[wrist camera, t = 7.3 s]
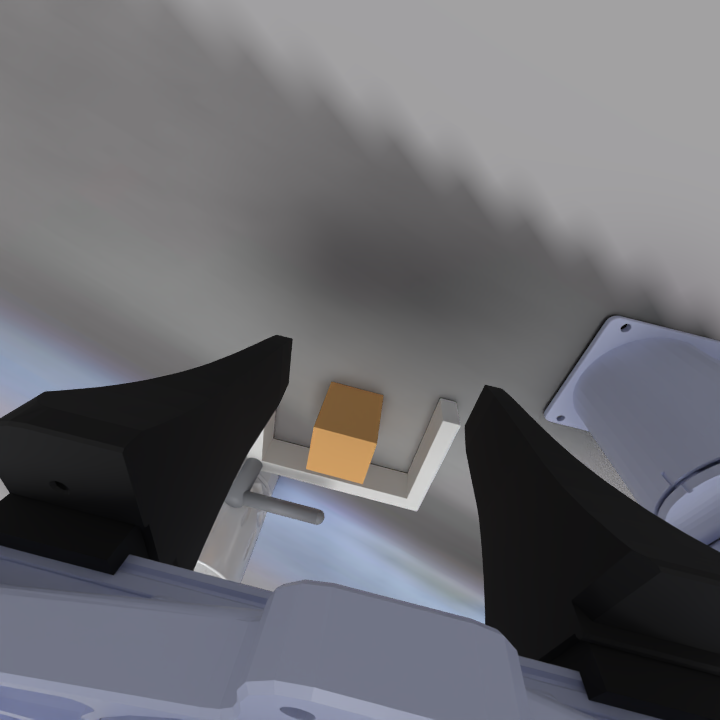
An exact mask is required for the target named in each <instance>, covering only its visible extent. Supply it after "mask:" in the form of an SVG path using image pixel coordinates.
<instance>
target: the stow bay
mask: <svg viewBox="0 0 720 720" xmlns="http://www.w3.org/2000/svg"><path fill="white" fill-rule="evenodd" d="M275 414H276V410H275V412H274V413H273V415H272V417H271V418H270V420H269V421H268V423H267V424H266V426H265V428H264V429H263V431H262V432H261V434H260V435H259V437H258V439H257V440H256V442H255V443H254V445H253V446H252V448H251V449H250V451H249V453H248V455H247V460H246V462H245V463H244V465H243V467H242V469H241V470H240V472H239V474H238V475H237V477H236V479H235V481H234V482H233V484H232V486H231V488H230V490H229V492H228V494H227V496H226V499H225V502H226V504H228V505H229V506H231V507H234V508H240V507H242V506H243V505H244V506H247V507H251V508H255V509H259V510H263V511H266V512H270V513H274V514H278V515H281V516H285V517H289V518H293V519H297V520H300V521H304V522H308V523H312V524H316V525H318V524H321V523H322V522H323V520H324V513H323V512H322V511H321V510H319V509H315V508H311V507H308V506H304V505H300V504H296V503H292V502H289V501H285V500H281V499H277V498H273V497H270V496H266V495H262V494H258V493H254V492H251V491H250V490H251V488H252V486H253V484H254V482H255V480H256V479H257V477H258V475H259V473H260V471H265V472H269V473H273V474H276V475H280V476H284V477H288V478H292V479H296V480H299V481H303V482H307V483H311V484H315V485H318V486H322V487H326V488H330V489H334V490H337V491H341V492H345V493H349V494H353V495H357V496H360V497H364V498H368V499H372V500H376V501H379V502H383V503H387V504H391V505H395V506H399V507H402V508H406V509H410V510H414V511H418V509H419V507H420V505H421V503H422V501H423V499H424V497H425V495H426V493H427V491H428V489H429V487H430V485H431V483H432V481H433V479H434V477H435V475H436V473H437V471H438V469H439V467H440V465H441V463H442V461H443V459H444V457H445V455H446V454H447V452H448V450H449V448H450V446H451V444H452V442H453V440H454V438H455V436H456V434H457V432H458V430H459V428H460V426H461V424H460V419H459V413H458V408H457V403H456V402H454V401H450V400H446V399H442V398H440V400H439V402H438V404H437V407H436V409H435V411H434V413H433V416H432V418H431V420H430V423H429V425H428V427H427V430H426V432H425V434H424V436H423V439H422V441H421V443H420V446H419V448H418V450H417V453H416V455H415V457H414V459H413V462H412V464H411V466H410V469H409V471H408V473H404V472H400V471H396V470H392V469H388V468H384V467H380V466H377V465H373V464H370V465H369V468H368V471H367V474H366V477H365V479H364V482H363V484H360V483H356V482H352V481H349V480H345V479H341V478H338V477H334V476H330V475H326V474H323V473H319V472H315V471H311V470H308V469H306V466H307V461H308V455H309V450H310V448H308V447H304V446H300V445H296V444H292V443H288V442H284V441H281V440H277V439H273V437H274V426H275Z"/></svg>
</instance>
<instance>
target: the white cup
mask: <svg viewBox="0 0 720 720" xmlns="http://www.w3.org/2000/svg"><path fill="white" fill-rule="evenodd" d="M246 460H247V456H246V458H245V460H244V462H243V464H242V466H241V468H240V470H241V469H242V467H243V465H244V463H245V462H246ZM240 470H239V472H240ZM239 472H238V474H239ZM238 474H237V475H238ZM236 477H237V476H236ZM278 477H279V475H276V474H273V473H269V472H265V471H260V473H259V475H258V477H257V479H256V480H255V482H254V484H253V486H252V488H251V490H250V491H251V492H254V493H258V494H262V495H266V496H270V497H271V496H272V493H273V490H274V488H275V485H276V483H277V480H278ZM235 479H236V478H235ZM234 481H235V480H234ZM266 513H267V512H266V511H263V510H259V509H255V508H251V507H247V506H244V505H243V506H242V507H240V508H234V507H231V506H229V505H228V504H226V502H225V501H224V503H223V505H222V507H221V509H220V511H219V513H218V516H217V518H216V520H215V522H214V525H213V527H212V529H211V531H210V534H209V536H208V538H207V540H206V542H205V545H204V547H203V549H202V552H201V554H200V557H199V559H198V561H197V564H196V566H195V568H194V571H195V572H199V573H203V574H207V575H211V576H214V577H218V578H222V579H226V580H230V581H234V582H237V583H241V581H242V579H243V576H244V573H245V571H246V568H247V565H248V563H249V560H250V557H251V555H252V552H253V549H254V547H255V544H256V541H257V539H258V536H259V533H260V531H261V528H262V525H263V523H264V520H265V516H266Z"/></svg>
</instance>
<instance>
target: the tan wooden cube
mask: <svg viewBox="0 0 720 720" xmlns="http://www.w3.org/2000/svg"><path fill="white" fill-rule="evenodd" d="M382 402H383V395H380V394H377V393H373V392H369V391H365V390H361V389H358V388H354V387H350V386H346V385H342V384H339V383H335V382H331V384H330V387H329V389H328V392H327V395H326V397H325V400H324V402H323V405H322V407H321V410H320V412H319V415H318V418H317V420H316V423H315V425H314V429H313V434H312V439H311V445H310V450H309V455H308V461H307V466H306V469H308V470H311V471H315V472H319V473H323V474H326V475H330V476H334V477H338V478H341V479H345V480H349V481H352V482H356V483H360V484H363V482H364V479H365V477H366V474H367V471H368V468H369V465H370V462H371V459H372V456H373V453H374V450H375V448H376V445H377V439H378V431H379V424H380V417H381V409H382Z"/></svg>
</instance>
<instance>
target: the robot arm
mask: <svg viewBox="0 0 720 720" xmlns="http://www.w3.org/2000/svg"><path fill="white" fill-rule="evenodd" d="M625 324H627V326H626V327H625V328H624V329H621V327H622V326H623V325H625ZM291 350H292V338H287V337H283V336H279V335H275V336H272V337H270V338H268V339H266V340H263V341H261V342H259V343H257V344H255V345H253V346H250V347H248V348H246V349H244V350H241V351H239V352H237V353H235V354H232V355H230V356H227V357H224V358H222V359H219V360H217V361H214V362H212V363H209V364H206V365H203V366H200V367H197V368H193V369H190V370H187V371H183V372H179V373H175V374H171V375H166V376H162V377H157V378H153V379H148V380H143V381H138V382H132V383H126V384H119V385H112V386H104V387H95V388H85V389H73V390H61V391H47V392H43V393H42V394H40V395H38V396H37V397H35V398H33V399H32V400H30V401H28V402H27V403H25V404H23V405H22V406H20V407H18V408H17V409H15V410H13V411H12V412H10V413H8V414H7V415H5V416H3V417H2V418H0V478H1V480H2V481H3V483H4V485H5V486H6V488H7V489H8V491H9V493H10V494H8V495H7V496H6V497H5V498H3V499H2V500H1V501H0V720H720V341H719V340H715V339H711V338H707V337H703V336H699V335H695V334H691V333H687V332H683V331H679V330H675V329H671V328H667V327H663V326H658V325H654V324H650V323H646V322H642V321H638V320H634V319H630V318H626V317H622V316H612V317H610V318H608V319H607V320H606V321H605V323H604V324H603V326H602V327H601V329H600V330H599V332H598V333H597V335H596V336H595V338H594V339H593V341H592V342H591V344H590V345H589V347H588V348H587V350H586V351H585V353H584V354H583V355H582V357H581V358H580V360H579V361H578V363H577V364H576V366H575V367H574V369H573V370H572V372H571V373H570V375H569V376H568V378H567V379H566V381H565V382H564V384H563V385H562V387H561V388H560V389H559V391H558V392H557V394H556V395H555V397H554V398H553V400H552V401H551V403H550V404H549V406H548V407H547V409H546V410H545V412H544V416H545V418H546V420H548V421H550V422H554V423H558V424H562V425H566V426H570V427H574V428H578V429H581V430H585V431H589V432H590V433H591V435H592V436H593V438H594V439H595V440H596V442H597V443H598V445H599V446H600V448H601V449H602V451H603V452H604V454H605V455H606V457H607V458H608V460H609V461H610V462H611V464H612V465H613V467H614V468H615V470H616V471H617V473H618V474H619V476H620V477H621V479H622V480H623V482H624V483H625V484H626V486H627V487H628V489H629V490H630V492H631V493H632V495H633V496H634V498H635V499H636V501H637V502H638V503H639V504H638V503H636V502H634V501H633V500H632V499H630V498H629V497H627V496H626V495H624V494H623V493H621V492H620V491H619V490H617V489H616V488H614V487H613V486H611V485H610V484H609V483H607V482H606V481H604V480H603V479H602V478H600V477H599V476H598V475H596V474H595V473H594V472H593V471H591V470H590V469H589V468H588V467H586V466H585V465H584V464H582V463H581V462H580V461H579V460H577V459H576V458H575V457H574V456H573V455H571V454H570V453H569V452H568V451H567V450H566V449H565V448H563V447H562V446H561V445H560V444H559V443H558V442H557V441H556V440H555V439H553V438H552V437H551V436H550V435H549V434H548V433H547V432H546V431H545V430H544V429H543V428H542V427H541V426H540V425H539V424H538V423H537V422H536V421H535V420H534V419H533V418H532V417H531V416H530V415H529V414H528V413H527V412H526V411H525V410H524V409H523V408H522V407H521V406H520V405H519V404H518V403H517V402H516V401H515V400H514V399H513V398H512V397H511V396H510V395H509V394H507V393H506V392H505V391H504V390H503V389H501V388H497V387H492V386H488V385H485V386H484V388H483V390H482V392H481V394H480V396H479V398H478V400H477V402H476V404H475V406H474V408H473V410H472V412H471V414H470V416H469V418H468V420H467V423H466V425H465V444H466V454H467V459H468V464H469V469H470V474H471V479H472V484H473V489H474V494H475V499H476V503H477V509H478V515H479V522H480V533H481V544H482V558H483V573H484V595H485V624H483V623H480V622H478V621H476V620H473V619H470V618H466V617H463V616H459V615H455V614H451V613H447V612H443V611H439V610H435V609H432V608H428V607H424V606H420V605H416V604H412V603H408V602H405V601H401V600H397V599H393V598H389V597H385V596H381V595H377V594H374V593H370V592H366V591H362V590H358V589H354V588H350V587H346V586H343V585H339V584H335V583H328V582H320V581H312V580H301V581H296V582H292V583H287V584H283V585H281V586H280V587H278V588H276V590H275V591H274V592H272V591H268V590H264V589H260V588H257V587H253V586H249V585H245V584H241V583H237V582H234V581H230V580H226V579H222V578H218V577H214V576H211V575H207V574H203V573H199V572H195V571H194V568H195V566H196V564H197V561H198V559H199V557H200V554H201V552H202V549H203V547H204V545H205V542H206V540H207V538H208V536H209V534H210V531H211V529H212V527H213V525H214V522H215V520H216V518H217V516H218V513H219V511H220V509H221V507H222V505H223V503H224V501H225V499H226V496H227V494H228V492H229V490H230V488H231V486H232V484H233V482H234V480H235V478H236V476H237V474H238V472H239V470H240V468H241V466H242V464H243V462H244V460H245V458H246V456H247V455H248V453H249V451H250V449H251V448H252V446H253V445H254V443H255V442H256V440H257V439H258V437H259V435H260V434H261V432H262V431H263V429H264V428H265V426H266V424H267V423H268V421H269V420H270V418H271V417H272V415H273V413H274V412H275V410H276V409H277V407H278V405H279V403H280V401H281V399H282V397H283V395H284V393H285V390H286V388H287V386H288V384H289V373H290V362H291ZM560 415H562V416H561V417H559V418H558V416H560Z"/></svg>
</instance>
